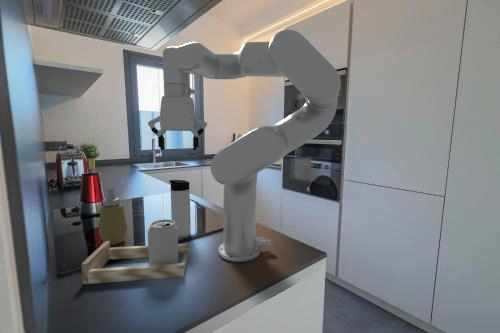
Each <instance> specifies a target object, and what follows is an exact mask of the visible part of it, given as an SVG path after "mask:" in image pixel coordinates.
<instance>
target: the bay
mask: <svg viewBox="0 0 500 333" xmlns="http://www.w3.org/2000/svg"><path fill="white" fill-rule="evenodd" d="M189 246H190V244H189V243H178V256H183V257H182V260H181V263H179V262H178V263H176V264H160V265H149V264H146V265H132V266H129V265H128V266H117V267H105V265H106V264H108V261H110V260H109V259H112V260H127V259H139V258H140V259H141V258H142V259H143V258H144V259H145V258H149V251H148V245H135V246H133V245H131V246H117V247H116V246H115V247H111V245H110V241H105V242H104V243H103V242H102V243H101V244H100V246H98V247H97V248H96V249H95V250H94V251H93V252H92V253H91V254H90V255H89V256H88V257H87V258H86V259H85V260H84V261H83V262H82V263H81V264H80V266H81V275H82V276H81V278H82V284H83V285H90V284H91V285H92V284H103V283H104V284H105V283H117V282H118V283H119V282H130V281H132V282H133V281H144V280H156V279H157V280H159V279H171V278H184V277H185V274H186V268H187V265H188V264H187V263H188V260H189V254H190V247H189Z"/></svg>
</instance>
